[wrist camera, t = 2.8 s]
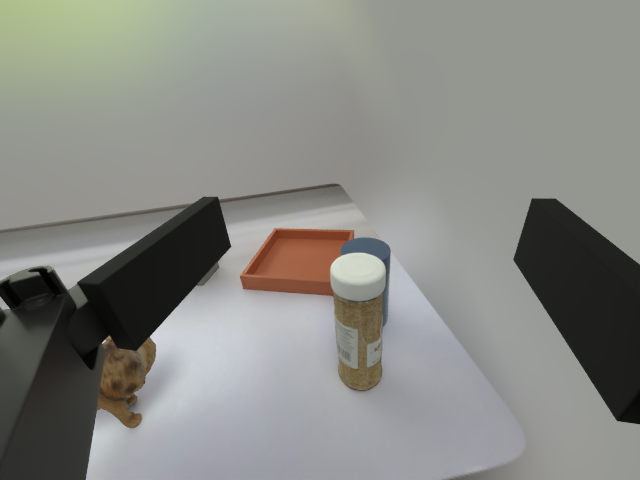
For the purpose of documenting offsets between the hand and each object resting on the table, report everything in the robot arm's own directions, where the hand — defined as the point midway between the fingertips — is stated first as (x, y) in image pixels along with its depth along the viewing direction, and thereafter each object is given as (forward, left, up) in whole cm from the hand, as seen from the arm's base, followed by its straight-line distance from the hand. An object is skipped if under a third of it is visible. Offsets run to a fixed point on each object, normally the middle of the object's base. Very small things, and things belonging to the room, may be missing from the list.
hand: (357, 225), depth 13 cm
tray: (+12, -27, -21) cm, 36 cm away
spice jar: (+1, -8, -21) cm, 23 cm away
